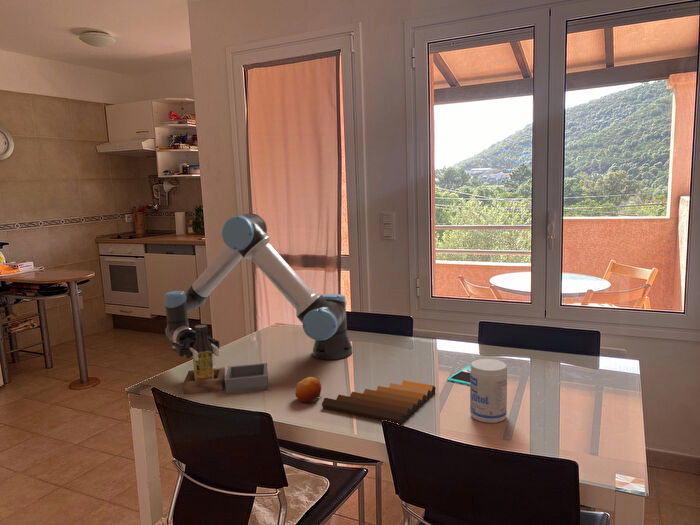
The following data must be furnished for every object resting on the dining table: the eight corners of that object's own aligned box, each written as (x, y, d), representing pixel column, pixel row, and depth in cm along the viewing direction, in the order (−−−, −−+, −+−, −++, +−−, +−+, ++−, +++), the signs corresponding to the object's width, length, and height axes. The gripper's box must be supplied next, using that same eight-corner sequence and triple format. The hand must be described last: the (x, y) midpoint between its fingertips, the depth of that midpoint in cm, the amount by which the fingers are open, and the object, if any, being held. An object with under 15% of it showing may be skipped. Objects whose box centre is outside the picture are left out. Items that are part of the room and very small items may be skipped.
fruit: (324, 401, 155) (309, 378, 155) (302, 413, 157) (288, 390, 157) (330, 390, 163) (316, 368, 163) (310, 402, 165) (296, 380, 165)
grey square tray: (267, 375, 183) (266, 362, 182) (267, 389, 170) (266, 376, 169) (229, 379, 181) (228, 366, 180) (226, 393, 168) (225, 380, 168)
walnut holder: (225, 377, 183) (224, 367, 183) (222, 389, 172) (221, 379, 171) (189, 380, 182) (188, 370, 181) (184, 393, 170) (183, 383, 169)
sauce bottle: (197, 389, 172) (190, 330, 169) (193, 383, 178) (187, 325, 175) (217, 384, 175) (211, 326, 172) (212, 378, 181) (207, 322, 178)
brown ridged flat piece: (321, 410, 153) (400, 427, 140) (321, 399, 153) (400, 415, 140) (364, 381, 174) (435, 394, 162) (363, 371, 174) (435, 383, 161)
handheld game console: (497, 373, 176) (497, 369, 176) (475, 388, 164) (475, 384, 164) (469, 367, 182) (469, 364, 182) (446, 382, 170) (446, 378, 170)
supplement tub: (464, 418, 143) (463, 365, 141) (480, 406, 150) (479, 356, 148) (498, 427, 137) (497, 372, 135) (513, 414, 144) (513, 362, 142)
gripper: (213, 343, 196) (236, 359, 176) (160, 354, 185) (178, 372, 166) (211, 323, 194) (234, 337, 175) (158, 333, 184) (176, 349, 165)
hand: (207, 354), depth 171 cm, fingers closed on sauce bottle, 6 cm apart
